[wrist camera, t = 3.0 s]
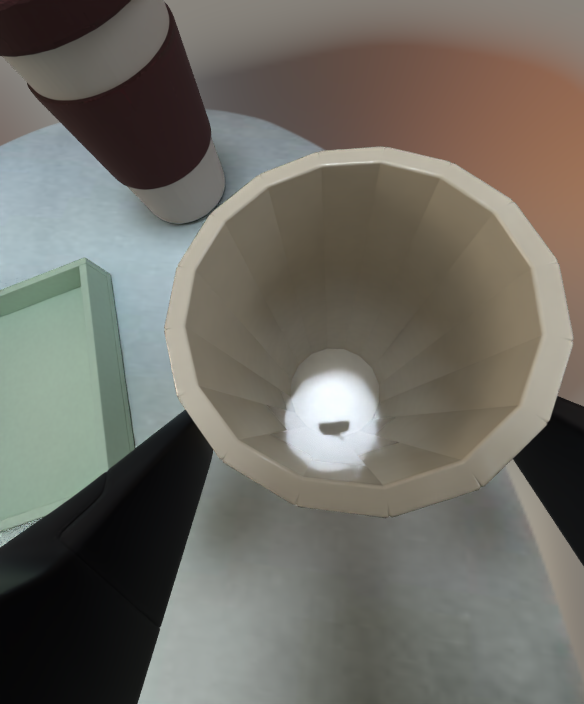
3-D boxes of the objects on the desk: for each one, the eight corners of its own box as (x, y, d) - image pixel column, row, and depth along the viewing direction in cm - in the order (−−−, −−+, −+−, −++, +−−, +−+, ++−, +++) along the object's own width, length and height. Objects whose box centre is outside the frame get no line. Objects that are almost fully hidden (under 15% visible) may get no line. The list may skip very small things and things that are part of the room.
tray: (140, 484, 18) (110, 493, 16) (-59, 551, 19) (-117, 571, 16) (110, 274, 23) (85, 256, 20) (-47, 333, 24) (-89, 323, 21)
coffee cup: (218, 133, 25) (73, -243, 11) (259, 206, 23) (135, -173, 8) (125, 180, 26) (-138, -132, 11) (154, 258, 23) (-149, -25, 8)
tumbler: (400, 423, 17) (682, 426, 3) (304, 455, 17) (210, 577, 4) (361, 333, 19) (443, 100, 5) (275, 363, 19) (141, 218, 5)
